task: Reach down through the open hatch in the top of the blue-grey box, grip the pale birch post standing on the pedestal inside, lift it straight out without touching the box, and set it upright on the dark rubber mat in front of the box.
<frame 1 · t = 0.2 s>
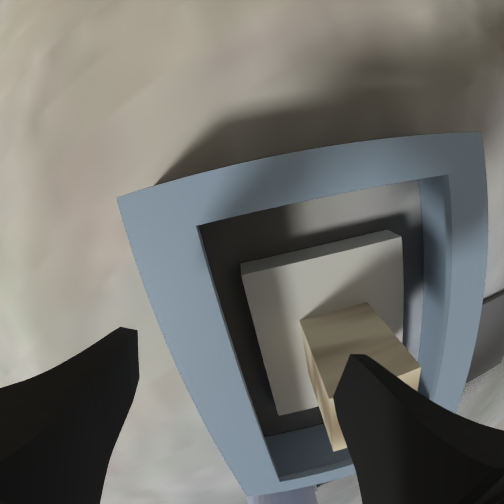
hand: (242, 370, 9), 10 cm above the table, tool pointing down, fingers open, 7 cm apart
birch post: (337, 340, 19), point 2 cm above the table, touching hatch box
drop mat: (478, 342, 23), on the table
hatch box: (329, 325, 21), on the table
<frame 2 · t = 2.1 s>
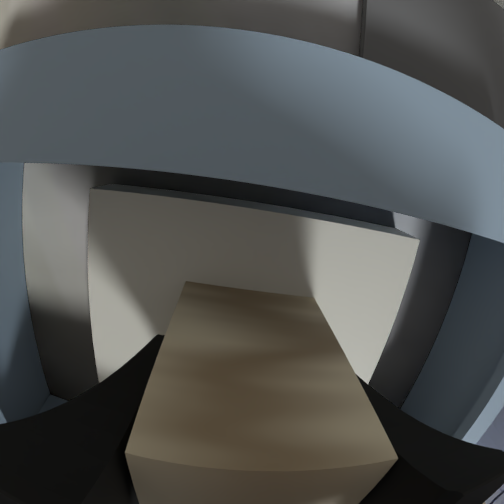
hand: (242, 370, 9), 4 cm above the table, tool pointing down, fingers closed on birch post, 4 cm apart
birch post: (241, 344, 11), point 2 cm above the table, touching gripper, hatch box
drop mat: (449, 30, 9), on the table
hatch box: (240, 318, 13), on the table
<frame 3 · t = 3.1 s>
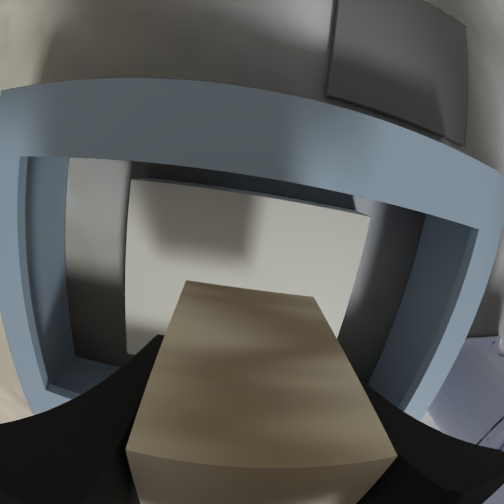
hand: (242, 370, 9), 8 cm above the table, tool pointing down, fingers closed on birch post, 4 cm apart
birch post: (241, 343, 11), point 7 cm above the table, touching gripper
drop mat: (407, 51, 14), on the table
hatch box: (238, 279, 17), on the table
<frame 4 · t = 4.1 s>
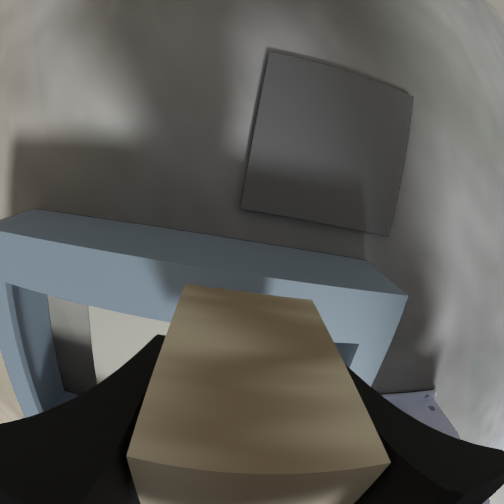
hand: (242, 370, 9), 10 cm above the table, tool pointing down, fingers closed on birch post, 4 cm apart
birch post: (240, 345, 11), point 9 cm above the table, touching gripper
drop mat: (333, 144, 17), on the table
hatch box: (176, 350, 21), on the table
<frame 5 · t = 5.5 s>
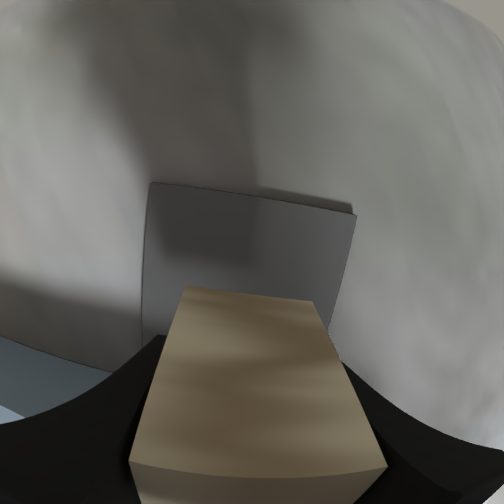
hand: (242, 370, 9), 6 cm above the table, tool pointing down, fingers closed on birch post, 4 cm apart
birch post: (240, 346, 11), point 5 cm above the table, touching gripper
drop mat: (240, 293, 15), on the table
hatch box: (118, 447, 19), on the table
when the fingers open (4 cm above the table, at t = 6.5 s): birch post drops 1 cm, resting on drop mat.
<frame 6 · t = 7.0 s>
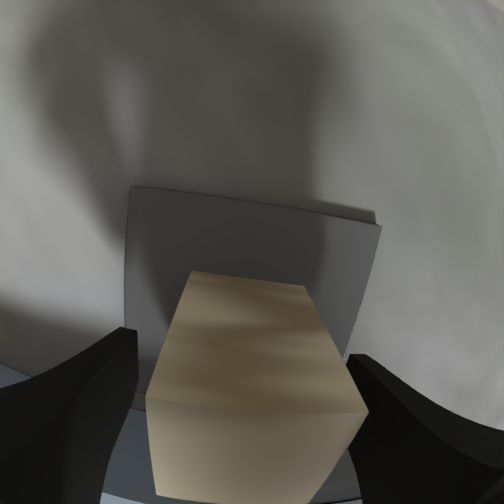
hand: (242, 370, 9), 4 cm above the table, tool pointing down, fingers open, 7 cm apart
birch post: (240, 327, 12), resting on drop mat
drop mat: (240, 318, 13), on the table
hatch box: (110, 471, 16), on the table
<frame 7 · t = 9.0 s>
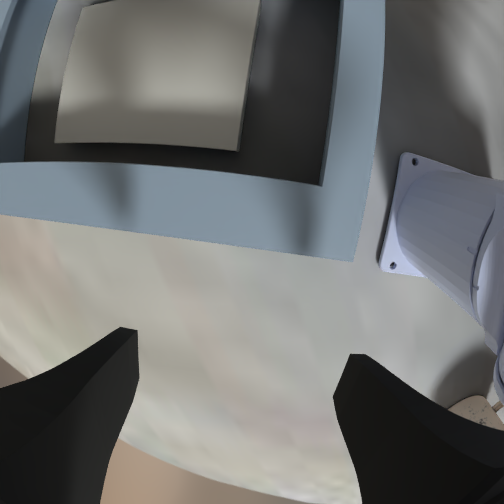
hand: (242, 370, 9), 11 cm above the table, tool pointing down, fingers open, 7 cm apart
teacup with lid: (465, 411, 25), on the table
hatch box: (156, 69, 16), on the table
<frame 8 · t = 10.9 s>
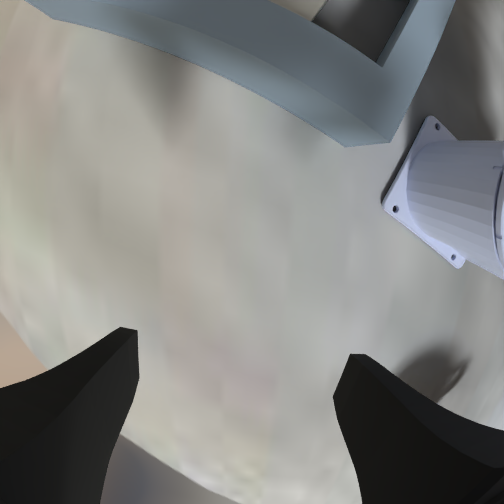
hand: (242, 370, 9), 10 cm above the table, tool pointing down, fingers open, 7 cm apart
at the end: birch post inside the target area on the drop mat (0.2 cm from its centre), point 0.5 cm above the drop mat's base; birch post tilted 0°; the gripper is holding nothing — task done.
